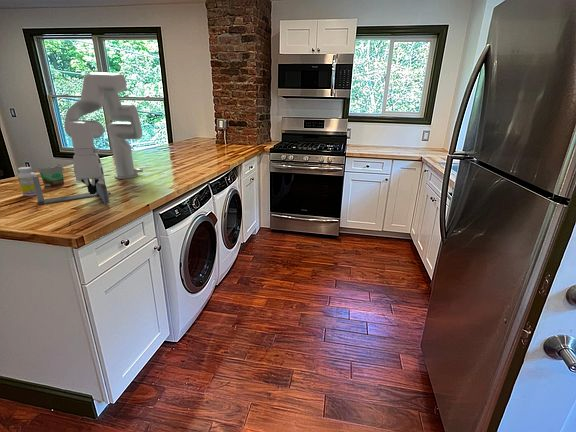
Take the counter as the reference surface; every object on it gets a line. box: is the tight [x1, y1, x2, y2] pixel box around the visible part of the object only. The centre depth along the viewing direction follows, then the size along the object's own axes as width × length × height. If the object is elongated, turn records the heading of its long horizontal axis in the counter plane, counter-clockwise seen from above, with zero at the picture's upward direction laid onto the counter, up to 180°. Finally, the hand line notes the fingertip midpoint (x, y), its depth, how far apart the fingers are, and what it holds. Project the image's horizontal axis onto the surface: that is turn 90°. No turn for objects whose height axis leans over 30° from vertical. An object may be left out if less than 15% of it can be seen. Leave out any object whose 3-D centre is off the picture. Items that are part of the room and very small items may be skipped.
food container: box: [37, 163, 65, 188], centre depth 159 cm, size 12×6×10 cm, turn 168°
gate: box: [96, 181, 110, 205], centre depth 140 cm, size 22×2×9 cm, turn 39°
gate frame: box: [32, 175, 111, 206], centre depth 141 cm, size 28×6×12 cm, turn 134°
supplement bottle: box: [17, 166, 37, 197], centre depth 143 cm, size 7×7×13 cm
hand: (93, 193), depth 135 cm, fingers closed
